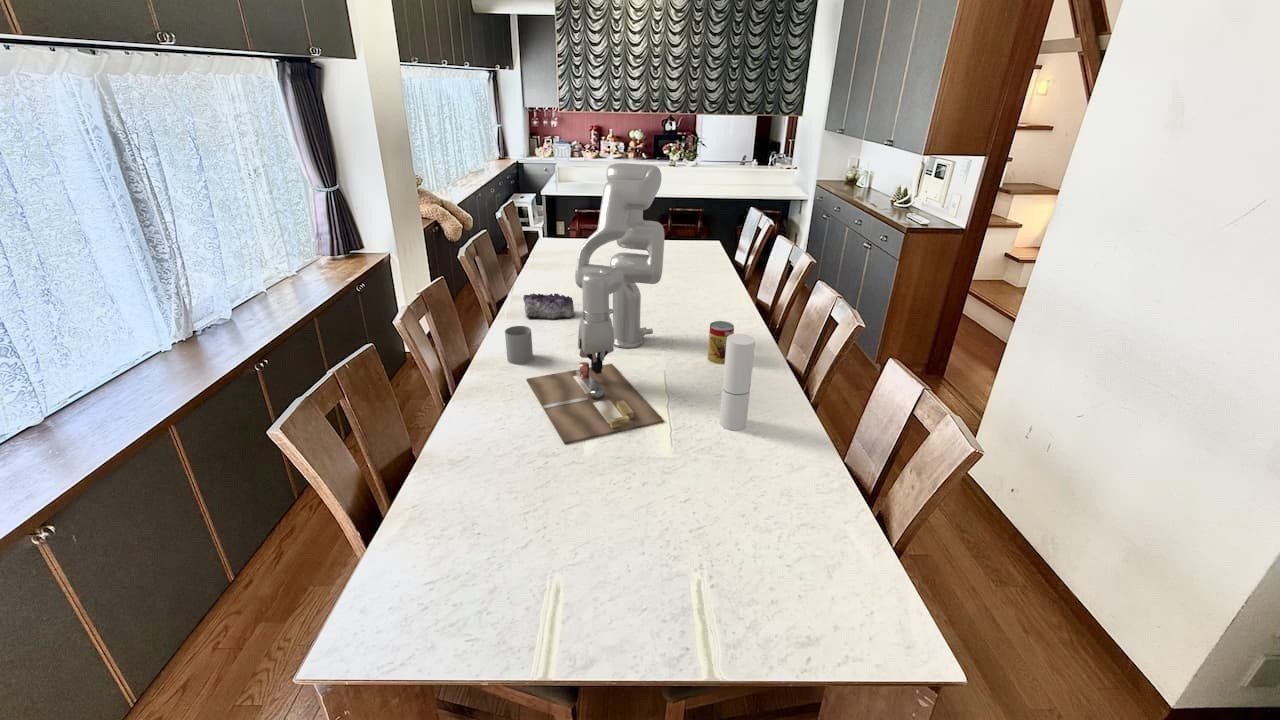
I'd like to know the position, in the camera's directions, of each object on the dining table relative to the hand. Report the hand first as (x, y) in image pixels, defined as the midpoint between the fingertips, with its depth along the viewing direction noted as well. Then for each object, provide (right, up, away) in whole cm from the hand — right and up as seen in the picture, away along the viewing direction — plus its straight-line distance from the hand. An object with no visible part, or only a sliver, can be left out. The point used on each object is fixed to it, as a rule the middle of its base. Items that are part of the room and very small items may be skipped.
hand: (597, 371), depth 182 cm
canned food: (+39, +4, +18) cm, 44 cm away
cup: (-26, +4, +16) cm, 31 cm away
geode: (-22, +21, +52) cm, 60 cm away
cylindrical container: (+38, -14, -19) cm, 45 cm away
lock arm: (-2, -4, -3) cm, 6 cm away
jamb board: (-1, -8, -9) cm, 12 cm away
